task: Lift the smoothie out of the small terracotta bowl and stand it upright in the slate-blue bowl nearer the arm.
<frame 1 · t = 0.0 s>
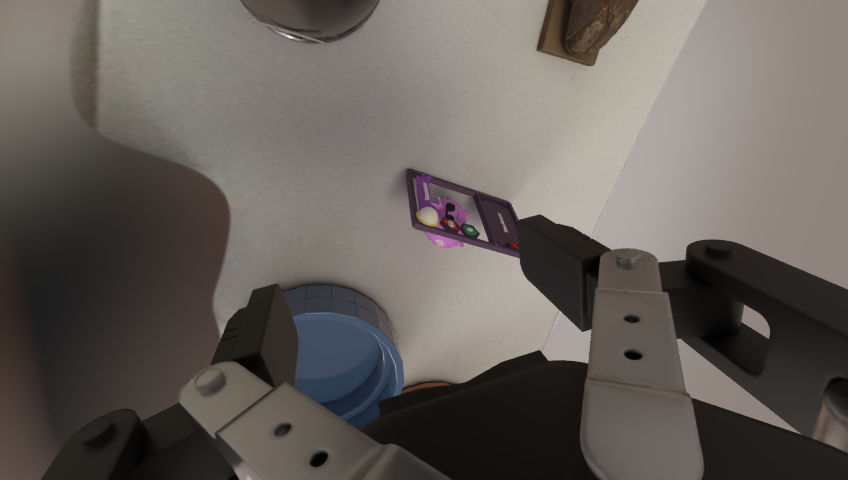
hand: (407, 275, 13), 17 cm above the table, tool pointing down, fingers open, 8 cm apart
blue bowl: (318, 351, 33), on the table
purple framed piece: (449, 212, 32), on the table
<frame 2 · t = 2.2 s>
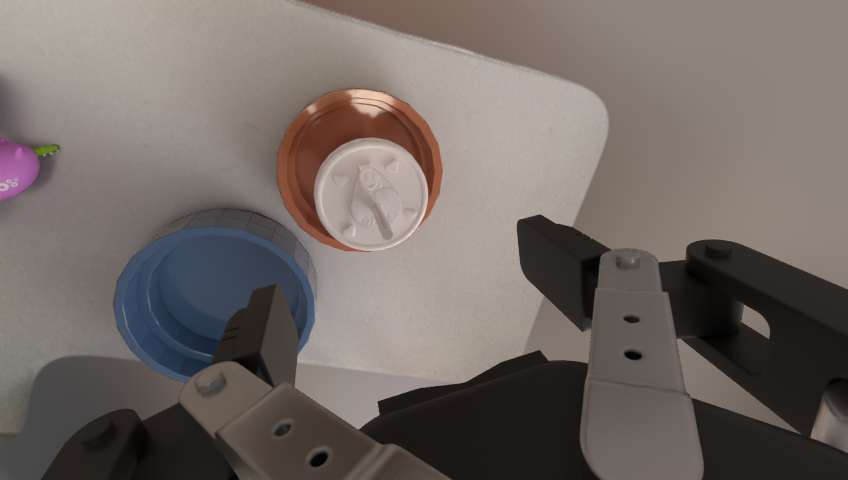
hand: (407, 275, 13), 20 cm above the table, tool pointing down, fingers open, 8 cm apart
blue bowl: (233, 284, 32), on the table
terracotta bowl: (358, 165, 31), on the table
purple framed piece: (17, 148, 26), on the table
smoothie: (358, 165, 31), resting on terracotta bowl
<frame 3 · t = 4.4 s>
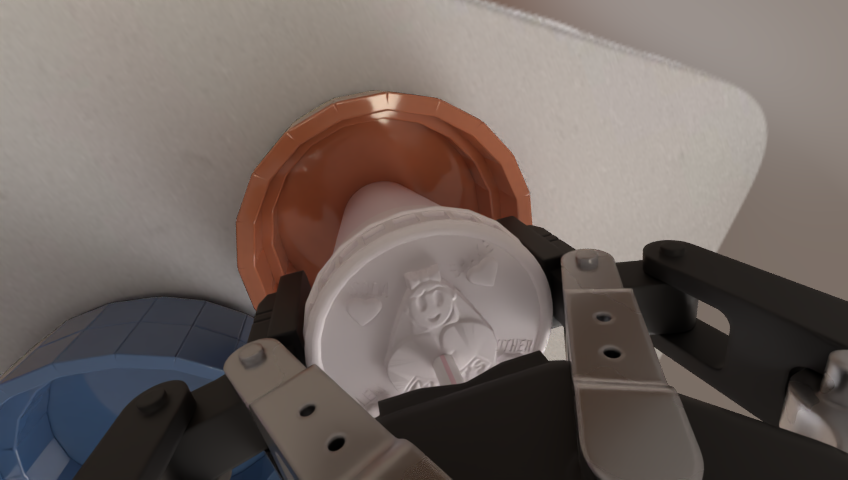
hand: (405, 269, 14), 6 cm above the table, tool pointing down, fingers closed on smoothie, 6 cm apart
blue bowl: (179, 406, 20), on the table
terracotta bowl: (382, 218, 19), on the table
smoothie: (382, 218, 19), resting on terracotta bowl, touching gripper
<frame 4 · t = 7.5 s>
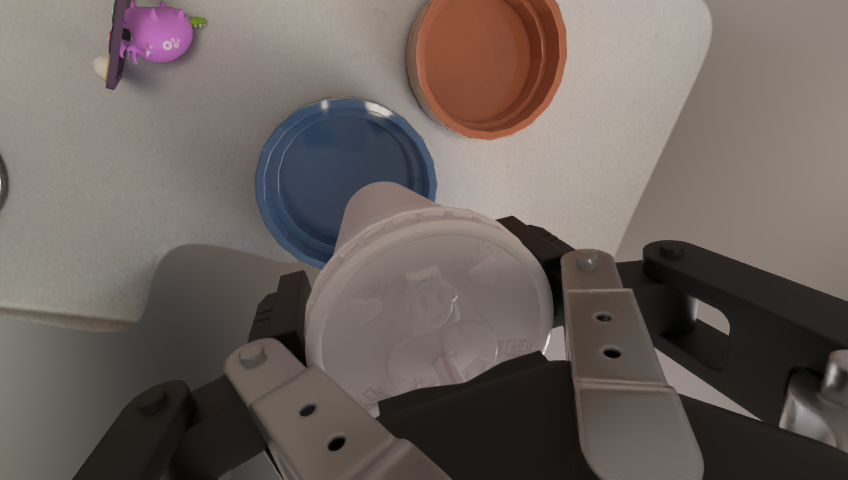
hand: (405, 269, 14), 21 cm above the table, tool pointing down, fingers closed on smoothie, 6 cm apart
blue bowl: (348, 178, 33), on the table
terracotta bowl: (475, 60, 32), on the table
purple framed piece: (167, 20, 27), on the table
smoothie: (383, 219, 19), point 15 cm above the table, touching gripper
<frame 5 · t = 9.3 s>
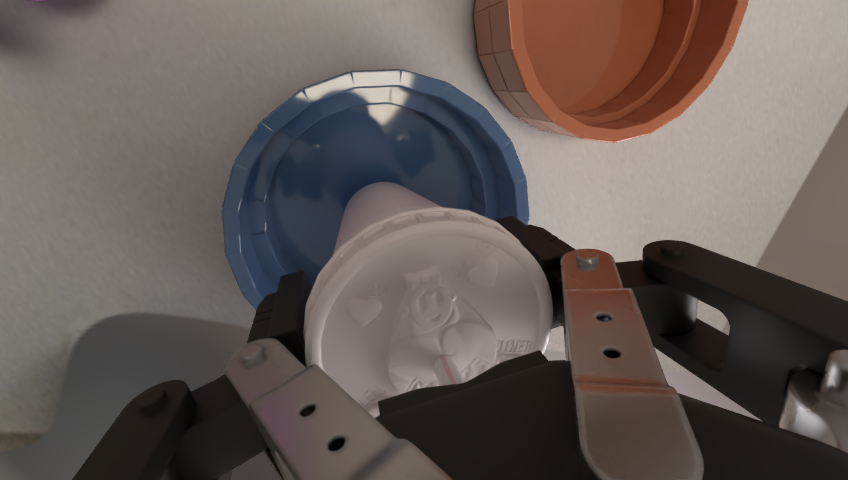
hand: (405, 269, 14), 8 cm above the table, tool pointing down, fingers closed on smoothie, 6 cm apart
blue bowl: (376, 205, 21), on the table
terracotta bowl: (579, 16, 20), on the table
smoothie: (382, 219, 19), point 2 cm above the table, touching gripper
when the fingers open (6 cm above the table, at t = 10.6 s): smoothie stays where it is, resting on blue bowl.
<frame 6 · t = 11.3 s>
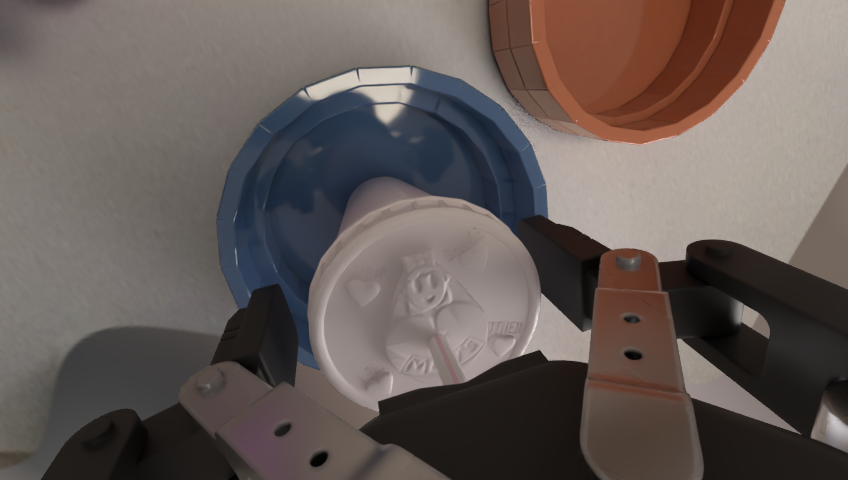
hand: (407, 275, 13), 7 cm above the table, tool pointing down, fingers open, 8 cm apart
blue bowl: (382, 211, 20), on the table
terracotta bowl: (601, 8, 18), on the table
smoothie: (383, 212, 19), resting on blue bowl
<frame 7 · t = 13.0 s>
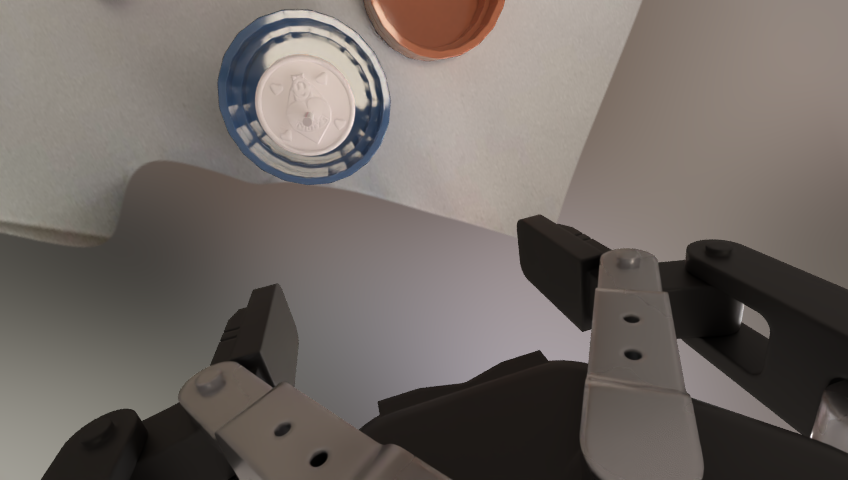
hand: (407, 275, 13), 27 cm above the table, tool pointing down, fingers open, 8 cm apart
blue bowl: (309, 101, 35), on the table
smoothie: (310, 101, 35), resting on blue bowl
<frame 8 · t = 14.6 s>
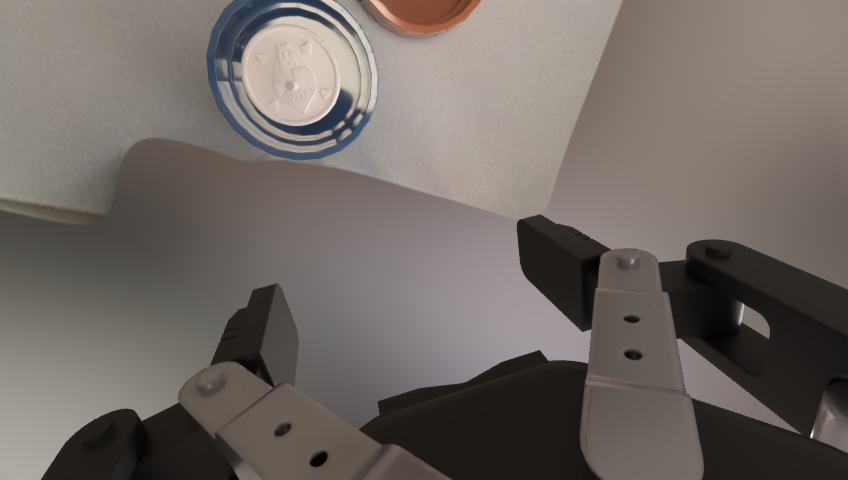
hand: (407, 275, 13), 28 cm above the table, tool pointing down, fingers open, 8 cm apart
blue bowl: (300, 78, 35), on the table
smoothie: (300, 78, 35), resting on blue bowl
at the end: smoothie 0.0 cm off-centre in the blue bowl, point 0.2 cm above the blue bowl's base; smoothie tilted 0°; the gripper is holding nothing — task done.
